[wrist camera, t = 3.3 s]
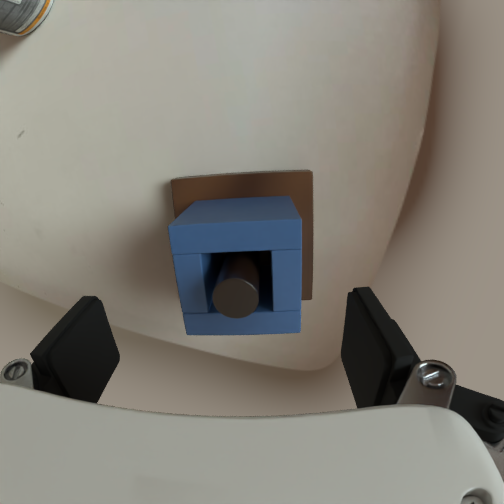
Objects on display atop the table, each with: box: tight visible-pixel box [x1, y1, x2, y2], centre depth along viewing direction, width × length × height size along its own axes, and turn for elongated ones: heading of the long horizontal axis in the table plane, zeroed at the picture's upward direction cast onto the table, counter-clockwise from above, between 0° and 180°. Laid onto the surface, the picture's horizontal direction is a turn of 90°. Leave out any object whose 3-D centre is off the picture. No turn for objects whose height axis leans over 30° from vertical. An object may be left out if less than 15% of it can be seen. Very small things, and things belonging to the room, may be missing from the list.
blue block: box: [168, 196, 302, 335], centre depth 17 cm, size 6×6×6 cm
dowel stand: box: [171, 170, 313, 319], centre depth 17 cm, size 9×9×9 cm
